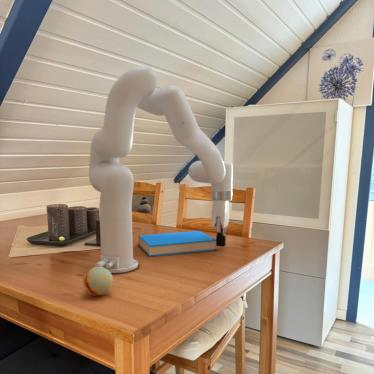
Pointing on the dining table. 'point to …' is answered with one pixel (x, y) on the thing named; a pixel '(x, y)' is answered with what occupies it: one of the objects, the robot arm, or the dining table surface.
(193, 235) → the book
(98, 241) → the bookend
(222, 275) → the dining table surface
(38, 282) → the dining table surface
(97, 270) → the ball
